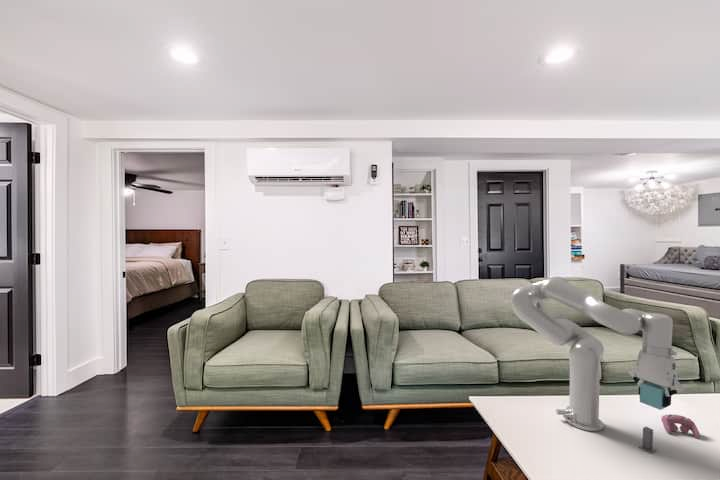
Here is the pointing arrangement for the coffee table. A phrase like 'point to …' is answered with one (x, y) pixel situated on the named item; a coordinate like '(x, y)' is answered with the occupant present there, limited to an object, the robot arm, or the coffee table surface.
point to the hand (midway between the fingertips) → (654, 401)
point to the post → (647, 441)
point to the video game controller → (684, 421)
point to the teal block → (652, 395)
